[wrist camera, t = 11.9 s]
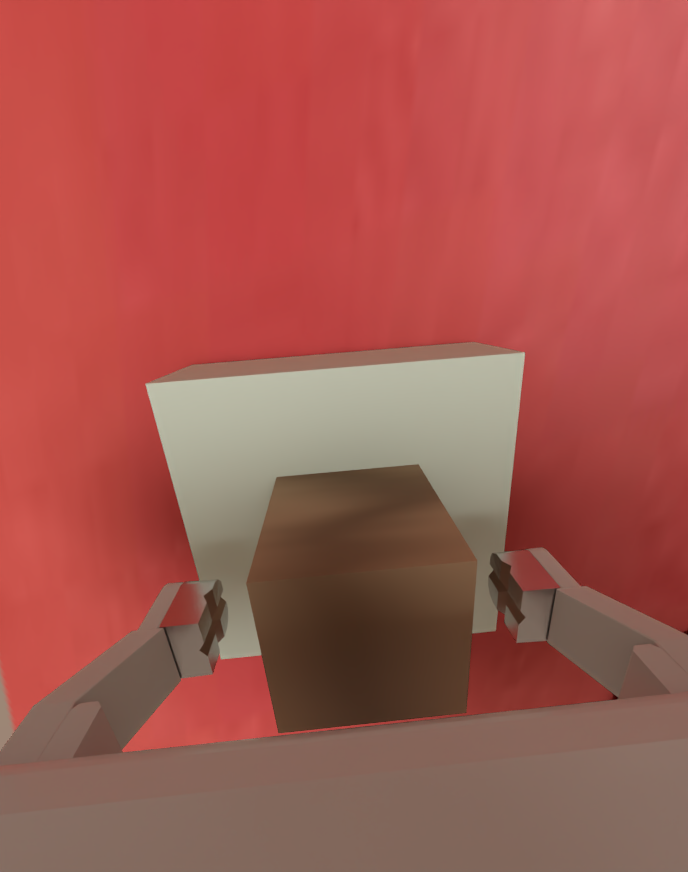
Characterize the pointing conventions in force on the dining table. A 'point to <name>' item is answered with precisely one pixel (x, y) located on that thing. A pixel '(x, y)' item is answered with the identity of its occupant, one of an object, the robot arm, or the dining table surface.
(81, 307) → the dining table surface
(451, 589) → the walnut cube
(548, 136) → the dining table surface
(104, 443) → the dining table surface
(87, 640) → the dining table surface
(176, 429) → the mint base block
